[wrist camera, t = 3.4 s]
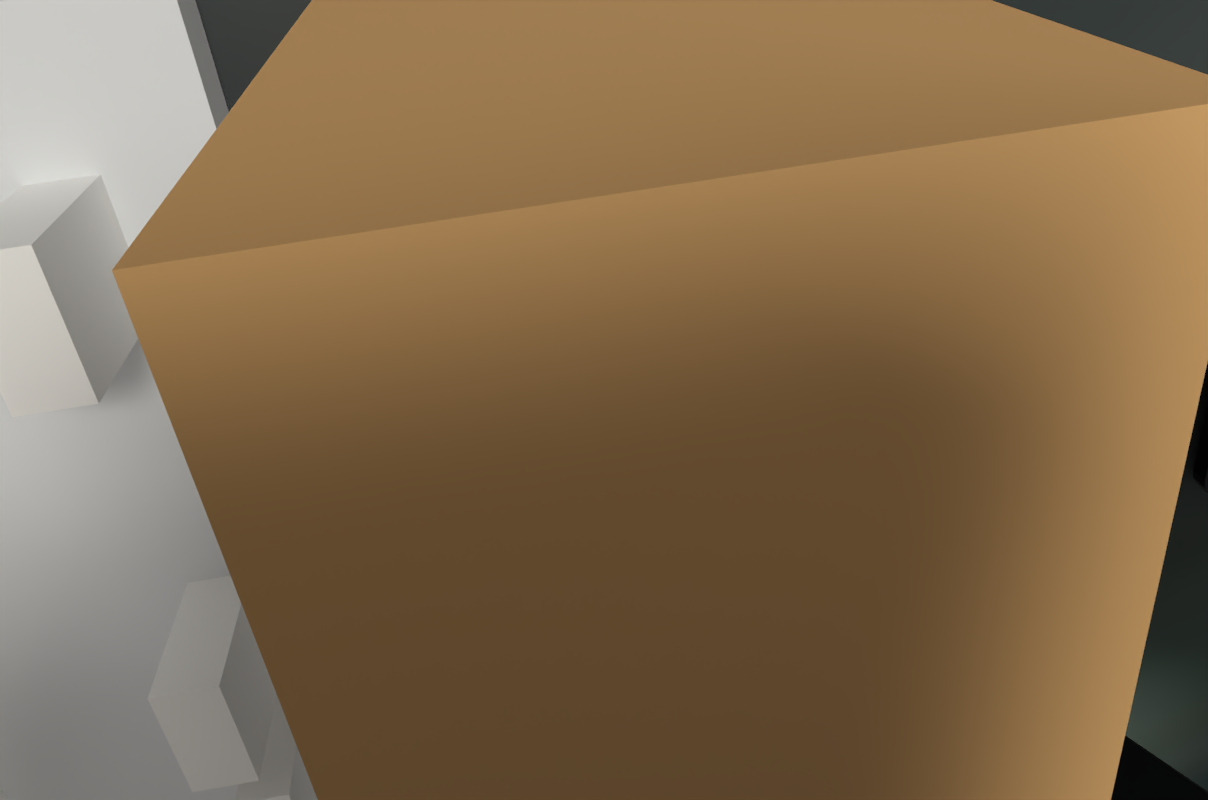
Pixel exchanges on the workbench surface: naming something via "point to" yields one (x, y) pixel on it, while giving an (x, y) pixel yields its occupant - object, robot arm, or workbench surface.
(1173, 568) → the workbench surface
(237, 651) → the board
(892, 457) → the two-tone rectangular block
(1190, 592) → the workbench surface
